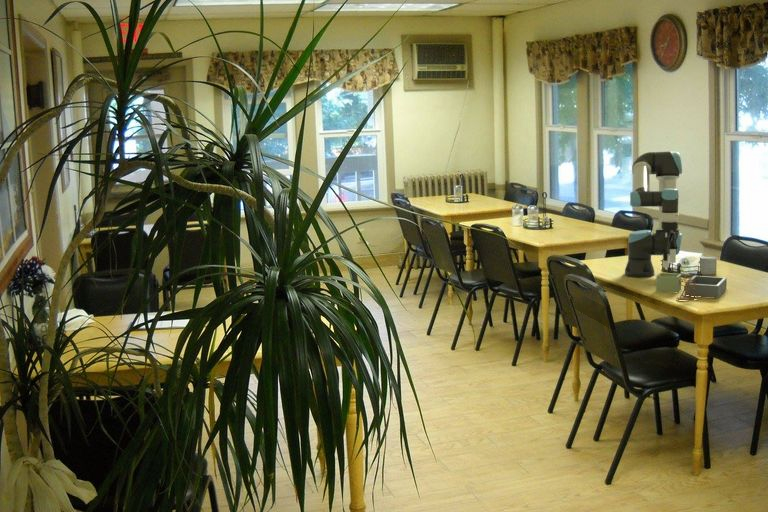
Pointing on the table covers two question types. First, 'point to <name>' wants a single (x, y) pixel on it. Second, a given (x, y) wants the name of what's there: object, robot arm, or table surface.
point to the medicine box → (708, 265)
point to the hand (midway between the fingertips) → (669, 264)
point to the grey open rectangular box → (707, 286)
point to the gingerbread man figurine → (687, 289)
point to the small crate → (668, 282)
